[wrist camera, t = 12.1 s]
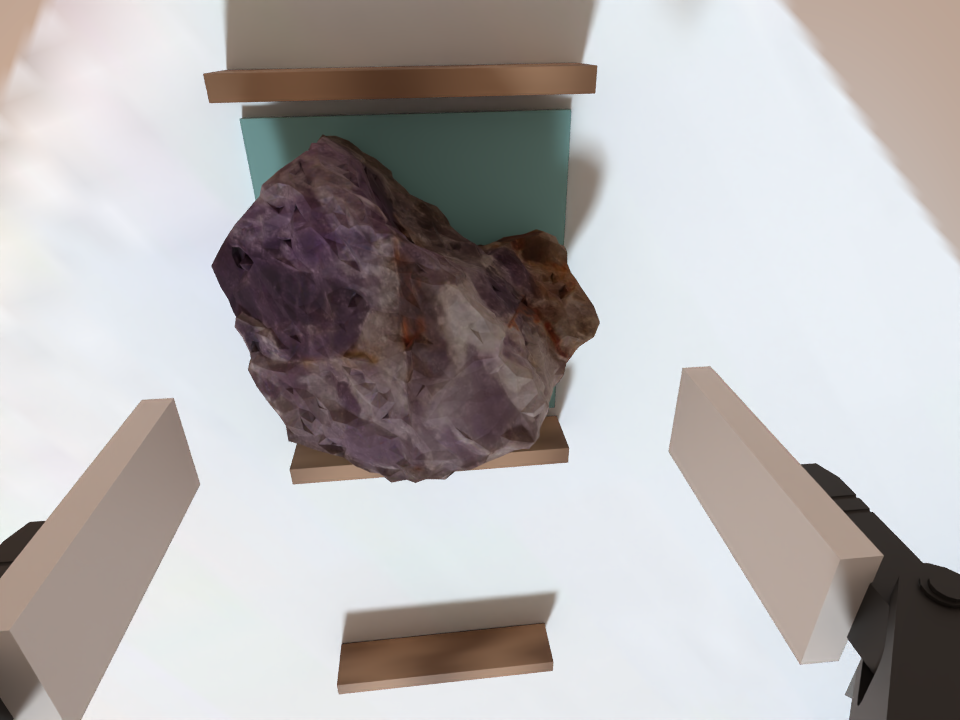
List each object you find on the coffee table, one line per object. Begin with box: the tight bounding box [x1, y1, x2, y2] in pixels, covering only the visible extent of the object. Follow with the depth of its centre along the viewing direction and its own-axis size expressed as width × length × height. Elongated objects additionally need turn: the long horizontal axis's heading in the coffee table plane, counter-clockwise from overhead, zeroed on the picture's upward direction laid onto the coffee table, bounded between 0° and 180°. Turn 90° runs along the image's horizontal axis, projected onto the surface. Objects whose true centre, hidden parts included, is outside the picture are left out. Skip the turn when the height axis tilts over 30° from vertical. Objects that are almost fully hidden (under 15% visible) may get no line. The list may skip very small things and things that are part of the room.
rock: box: [212, 135, 600, 483], centre depth 20 cm, size 12×9×10 cm
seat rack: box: [203, 63, 597, 694], centre depth 26 cm, size 12×31×2 cm, turn 1°
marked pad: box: [240, 109, 571, 408], centre depth 24 cm, size 12×13×1 cm
